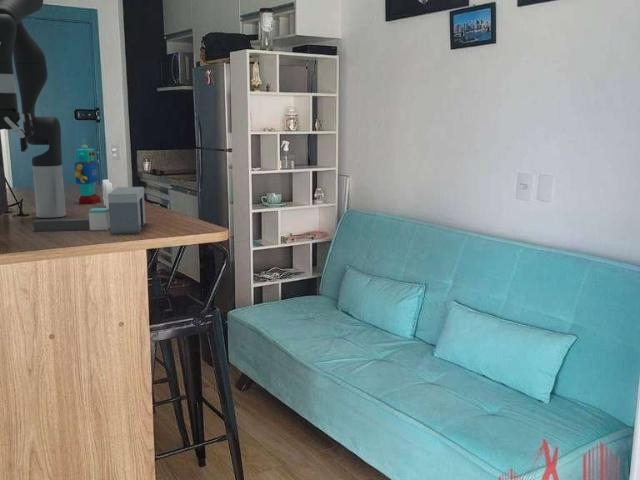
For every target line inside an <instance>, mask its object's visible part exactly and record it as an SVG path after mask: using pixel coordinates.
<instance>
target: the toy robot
mask: <svg viewBox="0 0 640 480" xmlns="http://www.w3.org/2000/svg"><path fill="white" fill-rule="evenodd" d="M82 141H85V143H84V142H82V145H81V148H80V149H75V154H76V161H75V163H74V177H75V183H76V184H79V187H80V188H79V189H80V197H79V198H78V203H79V204H80V205H94V204H96V203H99V202H101V200H102V199H101V196H99V195H98V194H97V193H96V185H95V184H96V182H98V181H99V176H98V175H99V174H98V173H99V171H98V162H97V161H96V160H95V151H94V148H89V146H88V145H86V143H87V141H86V139H85V138H83V140H82Z"/></svg>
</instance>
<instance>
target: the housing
mask: <svg viewBox="0 0 640 480" xmlns="http://www.w3.org/2000/svg"><path fill="white" fill-rule="evenodd" d="M108 201H109V224H110V228H109V231H110V232H109V233H110V234H112V235H113V234H115V235H116V234H118V235H119V234H139V233H140V232H141V231H142V227H144V226H145V225H146V223H147V222H146V204H145V188H144V186H119V187H116V188H115V189H113V191H112V192H110V193H109V194H108Z"/></svg>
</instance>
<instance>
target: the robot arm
mask: <svg viewBox="0 0 640 480" xmlns="http://www.w3.org/2000/svg"><path fill="white" fill-rule="evenodd" d="M43 5H44V0H0V130H1V131H2V130H8V131H9V130H13V131H14V132H16V134H17V135H18V136H19V137H20V138H19V144H20V152H21V153H25V152H27V150H28V149H29V146H28V145H31V146H48V149H47V150H46V151H45V152H43V153H41V154H37V155H35V156H33V157H32V158H31V166H32V176H33V189H34V199H35V211H36V212H35V213H36V217H37V218H40V219H42V218H44V219H48V218H49V219H50V218H52V219H54V218H60V217H65V216H67V214H66V213H67V211H66V197H65V185H64V174H63V173H64V172H63V170H64V169H63V161H62V159H63V158H62V157H63V156H62V155H63V154H62V153H63V152H62V127H61V123H60V121H59V118H57V117H56V116H36V113H35V110H36V104H37V101H38V98H39V97H40V94H41V92H42V90H43V88H44V87H45V85H46V82H47V80H48V75H49V73H48V67H47V61H46V60H47V58H46V55H45V53H44V51H43V50H42V48H41V47H40V46H39V44H38V43H37V42H36V40H35V39H34V38H33V36H31V34H30V33H29V32H28V30H27V29H26V28H25V26H24V22H23V21H22V20H23V19H25V18H27V17H29V16H30V15H32V14H34V13H37V12H38V11H40V10H41V9H42V8H43ZM13 62H14V66H13ZM14 69H15V74H16V79H17V84H18V90H19V95H20V96H19V97H20V103H21V104H20V105H21V114H20V112H19V107H18V97H17V96H18V95H17V85H16V80H15V75H14ZM21 119H22V126H23V127H22V126H21V125H20V124H19V121H20V120H21Z"/></svg>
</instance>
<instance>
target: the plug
mask: <svg viewBox="0 0 640 480" xmlns="http://www.w3.org/2000/svg"><path fill="white" fill-rule="evenodd" d="M32 224H33V225H32V226H33V232H64V231H66V232H67V231H68V232H69V231H108V230H110V217H109V209H108V208H106V207H100V208H99V207H96V208H93V207H92V208H90V209H89V210H88V218H65V219H64V218H63V219H62V218H61V219H60V218H59V219H58V218H57V219H54V218H52V219H36V220H33V223H32Z"/></svg>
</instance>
